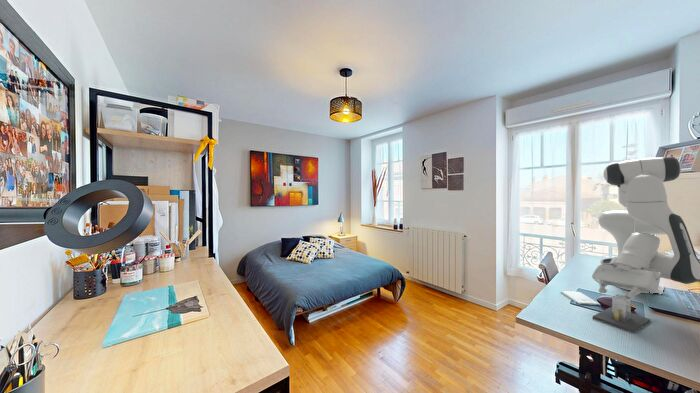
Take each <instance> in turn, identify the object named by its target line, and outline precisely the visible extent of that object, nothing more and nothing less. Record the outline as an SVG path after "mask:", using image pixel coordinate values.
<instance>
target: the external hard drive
mask: <svg viewBox="0 0 700 393" xmlns="http://www.w3.org/2000/svg"><path fill="white" fill-rule="evenodd" d="M560 294H562V295H563V296H565V297H567V298H568V299H569V300H571V301H572V300H573V301H572V302H574V301H575V302H577V303H578V304H589V305H588V306H592V305H600V306H601V303H599V302H597V301H596V300H594V299H593V298H591V297H589V296H587V295H586V294H584V293H583V292H580V291H572V290H571V291H569V290H568V291H567V290H561V291H560ZM575 302H574V303H575ZM577 303H576V304H577ZM578 304H577V305H578Z"/></svg>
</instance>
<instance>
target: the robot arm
mask: <svg viewBox="0 0 700 393" xmlns="http://www.w3.org/2000/svg"><path fill="white" fill-rule="evenodd" d="M681 173H682V165H681V163H680V162H679V160H678V159H677V158H675V157H674V156H673V157H672V156H661V157H645V158H637V159H630V160H629V159H628V160H624V161H620V162H618V161H615V162H611V163H608V164H606V166H605V168H604V170H603V173H602V174H603V178H604V180H605V181H606V183H607V184H609V185H611V186H616V187H617V188H618V190H617V191H618V196H617V198H618V202H619V204H620V205H622V206H623V207H625V208H626V210H607V211H603V212H601V213H600V215H599V216H598V224H599V225H600V227H601V228H602V229H604V230H605V231H607V232H608V233H609V234H610V235H612V237H613V238H614V240H615V241H616V246H617V256H613V257H608V258H604V259H600V264H599V265H598V266H597V267H596V268H595V269H594V272H593V273H592V276H591V277H592V279H593V280H594V281H595V282H596V283H597V284H599V288H598V292H599V293H602V294H606V293H607V292H608V289H606V287H607V286H613V287H617V288H620V289H623V290H627V291H626V293H625V294H624V296H625V297H627V298H629V299H631V300H634V298H635V297H636V296H638V295H640V294H642V293H643V294H653V293H661V294H662V293H663V294H664V292H663V290H664V291H665V285H663V284H662V283H660V281H661V278H662V279H666V280H672V281H673V282H677V283H679V284H683V285H690V284H694V283H697V282H699V281H700V260H699V258H698V256H697V253H696V251H695V248H694V245H693V242H692V239H691V237H690V233H689V231H688V228H687V226H686V224H685V222H684V219H683V218H682V217H681V216H680V215H678V214H676V213H674V211H672V210H671V208H670V206H669V204H668V197H667V196H668V195H667V192H666V191H667V190H666V187H665V184H664V183H665V182H667V183H668V182H671V181H674V180H676V179H677V178H679V177H680V175H681ZM656 235H658V236H659V235H667V237H668V240H669V242H670V247H671V249H672V251H673V254H667V253H660V252H658V249H659V247H660V243H661V238H660V237H658V236H656ZM628 291H629V292H628ZM649 292H650V293H649ZM661 294H660V295H661Z"/></svg>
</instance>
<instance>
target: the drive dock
mask: <svg viewBox="0 0 700 393" xmlns="http://www.w3.org/2000/svg"><path fill="white" fill-rule="evenodd" d="M592 319H593V320H596V321H598V320H599V322H601V321H602V323H603V324H604V323H605V324H607V325H610V326H612V327H615V328H619V329H622V330H623V331H626V332H627V331H628V332H629V333H633V334H634V333H635V332H637V331H638V330H640V329H642V328H644V327H645V326H646V325H648V324H649V323H650V322H652V320H651V318H649V317H646V316H642V315H638V314H636V313H632V312H631V318H630V319H628V320H627V321H623V320H620V319H619V311H616V310H614V317H612V306H610V307H608V308H606V309H604V310H602V311H600V312H598V313H596V314H594V315H592Z"/></svg>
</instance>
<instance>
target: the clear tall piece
mask: <svg viewBox="0 0 700 393" xmlns="http://www.w3.org/2000/svg"><path fill="white" fill-rule="evenodd" d="M611 299H612V300H611V301H612V302H611V307H612V317H614V310H616V311H619V319H620V320H623V321H627V320H628V319H630V318H631V313H632V311H631V310H632V299H629V298H627V297H625V295H622V294H615V295H613V296H612V298H611Z"/></svg>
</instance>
